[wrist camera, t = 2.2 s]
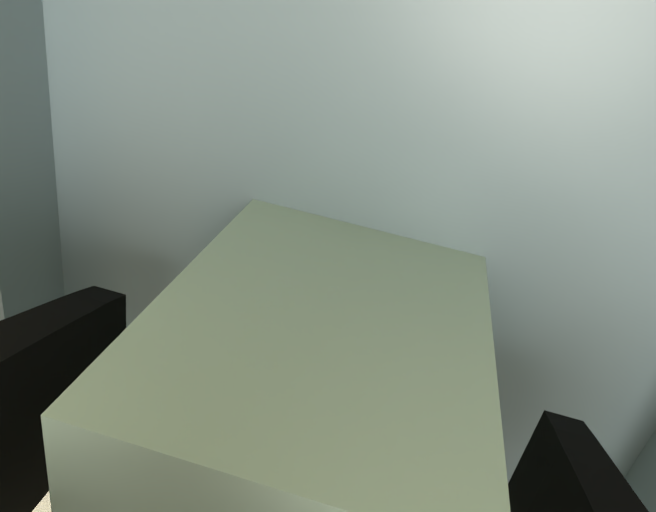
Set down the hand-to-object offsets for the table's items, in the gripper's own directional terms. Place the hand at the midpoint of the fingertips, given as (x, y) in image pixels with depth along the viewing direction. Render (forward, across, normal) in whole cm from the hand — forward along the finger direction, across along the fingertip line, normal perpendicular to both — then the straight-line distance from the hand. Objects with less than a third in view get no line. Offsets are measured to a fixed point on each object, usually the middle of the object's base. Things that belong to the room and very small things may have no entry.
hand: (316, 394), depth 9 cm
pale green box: (+2, 0, 0) cm, 2 cm away
